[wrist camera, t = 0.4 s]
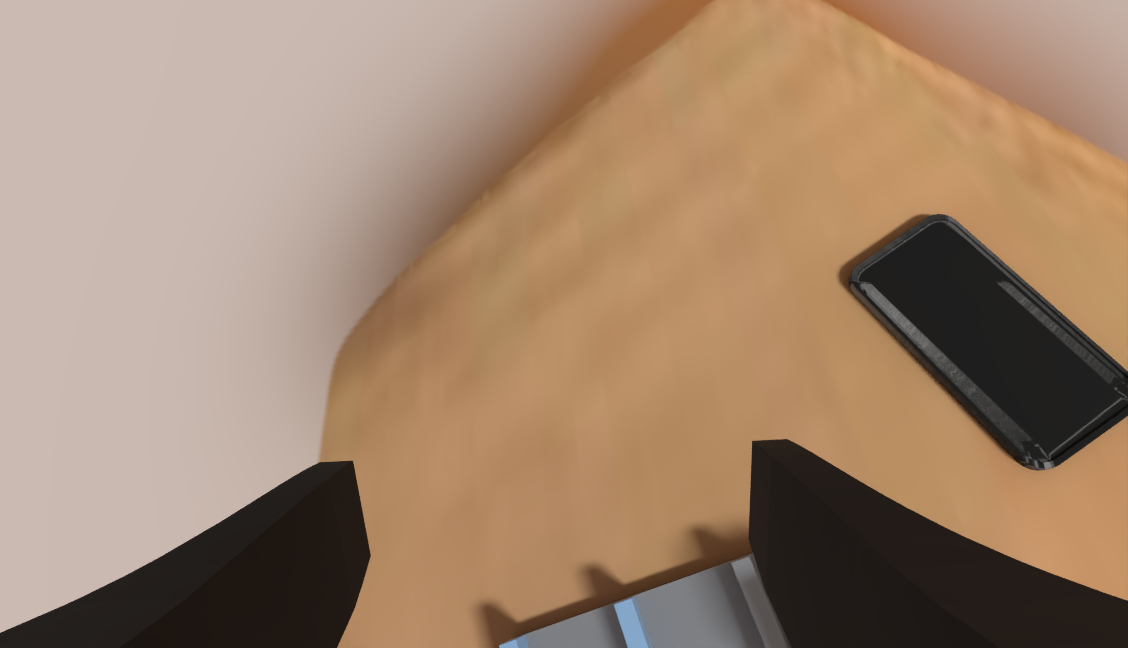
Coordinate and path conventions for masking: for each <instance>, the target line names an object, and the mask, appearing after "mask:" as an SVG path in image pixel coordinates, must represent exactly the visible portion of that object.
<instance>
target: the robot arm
mask: <svg viewBox="0 0 1128 648" xmlns="http://www.w3.org/2000/svg"><path fill="white" fill-rule="evenodd" d="M749 541H750V544H751V548H752V551H753V554H754V557H755V561H756V564H757V567H758V570H759V573H760V576H761V579H762V582H763V585H764V588H765V591H766V593H767V595H768V598H769V600H770V602H771V604H772V606H773V608H774V611H775V613H776V615H777V617H778V619H779V621H780V624H781V626H782V628H783V630H784V632H785V634H786V636H787V638H788V641H789V643H790V645H791V647H792V648H1128V601H1127V600H1124V599H1121V598H1118V597H1115V596H1112V595H1109V594H1106V593H1103V592H1100V591H1098V590H1095V589H1092V588H1089V587H1087V586H1084V585H1081V584H1078V583H1076V582H1073V581H1070V580H1068V579H1065V578H1062V577H1059V576H1057V575H1054V574H1051V573H1048V572H1046V571H1043V570H1041V569H1038V568H1036V567H1033V566H1031V565H1028V564H1026V563H1023V562H1021V561H1018V560H1016V559H1014V558H1011V557H1009V556H1007V555H1004V554H1002V553H1000V552H998V551H995V550H993V549H991V548H988V547H986V546H984V545H982V544H979V543H977V542H975V541H973V540H970V539H968V538H966V537H964V536H962V535H959V534H957V533H955V532H953V531H951V530H949V529H947V528H945V527H943V526H941V525H939V524H937V523H935V522H933V521H931V520H929V519H927V518H925V517H924V516H922V515H920V514H918V513H916V512H914V511H912V510H910V509H908V508H906V507H904V506H902V505H901V504H899V503H897V502H895V501H893V500H892V499H890V498H888V497H886V496H884V495H883V494H881V493H879V492H877V491H876V490H874V489H872V488H870V487H869V486H867V485H865V484H864V483H862V482H860V481H858V480H857V479H855V478H853V477H852V476H850V475H848V474H847V473H845V472H843V471H842V470H840V469H838V468H837V467H835V466H833V465H832V464H830V463H828V462H827V461H825V460H823V459H822V458H820V457H818V456H817V455H815V454H813V453H812V452H810V451H808V450H807V449H805V448H803V447H801V446H799V445H798V444H796V443H794V442H792V441H790V440H788V439H782V440H761V441H752V464H751V490H750V516H749ZM370 556H371V555H370V549H369V544H368V539H367V533H366V528H365V523H364V517H363V512H362V507H361V501H360V496H359V491H358V485H357V480H356V475H355V469H354V464H353V461H338V462H320V463H318V464H316V465H313V466H312V467H310V468H308V469H306V470H304V471H302V472H300V473H299V474H297V475H295V476H294V477H292V478H290V479H289V480H287V481H285V482H284V483H282V484H280V485H279V486H277V487H276V488H274V489H272V490H271V491H269V492H268V493H266V494H264V495H263V496H261V497H260V498H258V499H256V500H255V501H253V502H252V503H250V504H249V505H247V506H245V507H244V508H242V509H240V510H239V511H237V512H236V513H234V514H232V515H231V516H229V517H228V518H226V519H224V520H223V521H221V522H220V523H218V524H216V525H215V526H213V527H211V528H209V529H208V530H206V531H204V532H202V533H201V534H199V535H197V536H196V537H194V538H192V539H190V540H189V541H187V542H185V543H184V544H182V545H180V546H178V547H177V548H175V549H173V550H172V551H170V552H168V553H166V554H165V555H163V556H161V557H160V558H158V559H156V560H154V561H152V562H150V563H148V564H147V565H145V566H143V567H141V568H139V569H137V570H135V571H134V572H131V573H129V574H128V575H126V576H124V577H122V578H120V579H118V580H116V581H114V582H112V583H110V584H108V585H106V586H104V587H102V588H99V589H98V590H96V591H93V592H91V593H89V594H87V595H85V596H83V597H81V598H79V599H77V600H75V601H73V602H70V603H68V604H66V605H64V606H62V607H59V608H57V609H54V610H52V611H50V612H48V613H45V614H43V615H41V616H38V617H36V618H34V619H31V620H29V621H27V622H25V623H22V624H20V625H18V626H15V627H13V628H11V629H8V630H6V631H4V632H1V633H0V648H337V646H338V644H339V642H340V640H341V638H342V635H343V633H344V631H345V629H346V627H347V624H348V622H349V620H350V618H351V615H352V613H353V611H354V608H355V605H356V602H357V599H358V596H359V593H360V590H361V587H362V584H363V580H364V577H365V574H366V570H367V567H368V563H369V560H370Z"/></svg>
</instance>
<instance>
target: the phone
mask: <svg viewBox="0 0 1128 648" xmlns="http://www.w3.org/2000/svg"><path fill="white" fill-rule="evenodd" d="M848 284H849V287H850V289H851V291H852V292H853V293H854V295H855V296H856V297H857V298H858V299H859V300H860V301H861V302H862V303H863V304H864V305H865V306H866V307H867V308H868V309H869V310H870V311H871V312H872V313H873V314H874V315H875V316H876V317H877V318H878V319H879V320H880V321H881V322H882V323H883V324H884V325H885V326H886V327H887V328H888V329H889V330H890V332H891V333H892V334H893V335H894V336H895V337H896V338H897V339H898V340H899V341H900V342H901V343H902V344H903V345H904V346H905V347H906V348H907V349H908V350H909V351H910V352H911V353H912V354H913V355H914V356H915V357H916V358H917V359H918V360H919V361H920V362H921V363H922V364H923V365H924V366H925V367H926V369H927V370H928V371H929V372H930V373H931V374H932V375H933V376H934V377H935V378H936V379H937V380H938V381H939V382H940V383H941V384H942V385H943V386H944V387H945V388H946V389H947V390H948V391H949V392H950V393H951V394H952V395H953V396H954V397H955V398H956V399H957V400H958V401H959V402H960V403H961V404H962V406H963V407H964V408H965V409H966V410H967V411H968V412H969V413H970V414H971V415H972V416H973V417H974V418H975V419H976V420H977V421H978V422H979V423H980V424H981V425H982V426H983V427H984V428H985V429H986V430H987V431H988V432H989V433H990V434H991V435H992V436H993V437H994V438H995V439H996V440H997V441H998V442H999V444H1000V445H1001V446H1002V447H1003V448H1004V449H1005V450H1006V451H1007V452H1008V453H1009V454H1010V455H1011V456H1012V457H1013V458H1014V459H1015V460H1016V461H1017V462H1018V463H1020V464H1021V465H1022V466H1024V467H1026V468H1028V469H1032V470H1037V471H1038V470H1046V469H1051V468H1054V467H1056V466H1058V465H1060V464H1061V463H1063V462H1064V461H1065V460H1067V459H1068V458H1070V457H1071V456H1072V455H1074V454H1075V453H1077V452H1078V451H1079V450H1081V449H1082V448H1084V447H1085V446H1086V445H1088V444H1089V443H1091V442H1092V441H1093V440H1095V439H1096V438H1098V437H1099V436H1100V435H1102V434H1103V433H1105V432H1106V431H1107V430H1109V429H1110V428H1112V427H1113V426H1114V425H1116V424H1117V423H1119V422H1120V421H1121V420H1123V419H1124V418H1126V417H1127V416H1128V371H1127V370H1125V369H1124V368H1123V367H1122V366H1121V365H1120V364H1119V363H1118V362H1116V361H1115V360H1114V359H1113V358H1112V357H1111V356H1110V355H1108V354H1107V353H1106V352H1105V351H1104V350H1103V349H1102V348H1100V347H1099V346H1098V345H1097V344H1096V343H1095V342H1094V341H1092V340H1091V339H1090V338H1089V337H1088V336H1087V335H1086V334H1085V333H1083V332H1082V331H1081V330H1080V329H1079V328H1078V327H1077V326H1075V325H1074V324H1073V323H1072V322H1071V321H1070V320H1069V319H1067V318H1066V317H1065V316H1064V315H1063V314H1062V313H1061V312H1060V311H1058V310H1057V309H1056V308H1055V307H1054V306H1053V305H1052V304H1050V303H1049V302H1048V301H1047V300H1046V299H1045V298H1044V297H1043V296H1041V295H1040V294H1039V293H1038V292H1037V291H1036V290H1035V289H1033V288H1032V287H1031V286H1030V285H1029V284H1028V283H1027V282H1025V281H1024V280H1023V279H1022V278H1021V277H1020V276H1019V275H1018V274H1016V273H1015V272H1014V271H1013V270H1012V269H1011V268H1010V267H1008V266H1007V265H1006V264H1005V263H1004V262H1003V261H1002V260H1000V259H999V258H998V257H997V256H996V255H995V254H994V253H993V252H991V251H990V250H989V249H988V248H987V247H986V246H985V245H983V244H982V243H981V242H980V241H979V240H978V239H977V238H976V237H974V236H973V235H972V234H971V233H970V232H969V231H968V230H966V229H965V228H964V227H963V226H962V225H961V224H960V223H959V222H957V221H956V220H955V219H953V218H952V217H950V216H947V215H942V214H936V215H932V216H929V217H927V218H926V219H924V220H923V221H921V222H920V223H918V224H917V225H916V226H914V227H913V228H911V229H910V230H908V231H907V232H905V233H904V234H902V235H901V236H900V237H898V238H897V239H895V240H894V241H892V242H891V243H889V244H888V245H886V246H885V247H883V248H882V249H881V250H879V251H878V252H876V253H875V254H873V255H872V256H870V257H869V258H867V259H866V260H864V261H863V262H862V263H860V264H859V265H857V266H856V267H855V268H854V270H853V271H852V273H851V275H850V277H849V282H848Z"/></svg>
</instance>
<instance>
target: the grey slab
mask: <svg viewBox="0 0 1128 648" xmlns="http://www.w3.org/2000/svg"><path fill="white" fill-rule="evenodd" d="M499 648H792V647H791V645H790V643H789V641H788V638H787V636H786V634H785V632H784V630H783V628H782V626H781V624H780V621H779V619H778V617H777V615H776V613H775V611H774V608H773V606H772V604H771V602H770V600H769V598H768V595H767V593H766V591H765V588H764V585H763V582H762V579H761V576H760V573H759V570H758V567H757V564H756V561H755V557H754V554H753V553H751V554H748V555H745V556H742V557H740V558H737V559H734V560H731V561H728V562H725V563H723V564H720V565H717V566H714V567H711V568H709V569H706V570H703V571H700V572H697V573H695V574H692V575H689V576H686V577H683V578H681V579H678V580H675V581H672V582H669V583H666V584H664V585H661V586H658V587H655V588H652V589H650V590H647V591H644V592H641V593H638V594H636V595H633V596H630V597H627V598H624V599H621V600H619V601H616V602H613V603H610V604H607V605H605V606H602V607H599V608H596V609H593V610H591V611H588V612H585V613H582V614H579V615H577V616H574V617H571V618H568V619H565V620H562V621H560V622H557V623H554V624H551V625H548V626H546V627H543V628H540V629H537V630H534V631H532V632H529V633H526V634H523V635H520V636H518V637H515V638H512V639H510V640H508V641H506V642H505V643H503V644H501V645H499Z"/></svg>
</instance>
